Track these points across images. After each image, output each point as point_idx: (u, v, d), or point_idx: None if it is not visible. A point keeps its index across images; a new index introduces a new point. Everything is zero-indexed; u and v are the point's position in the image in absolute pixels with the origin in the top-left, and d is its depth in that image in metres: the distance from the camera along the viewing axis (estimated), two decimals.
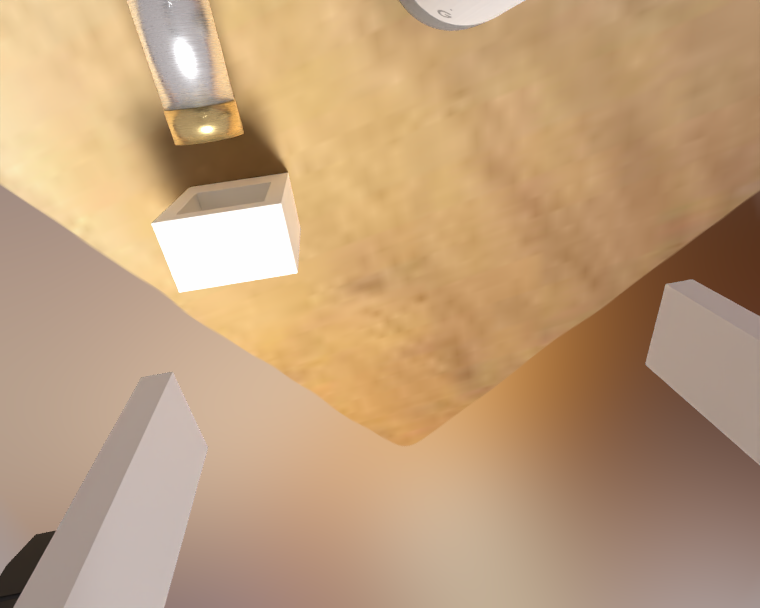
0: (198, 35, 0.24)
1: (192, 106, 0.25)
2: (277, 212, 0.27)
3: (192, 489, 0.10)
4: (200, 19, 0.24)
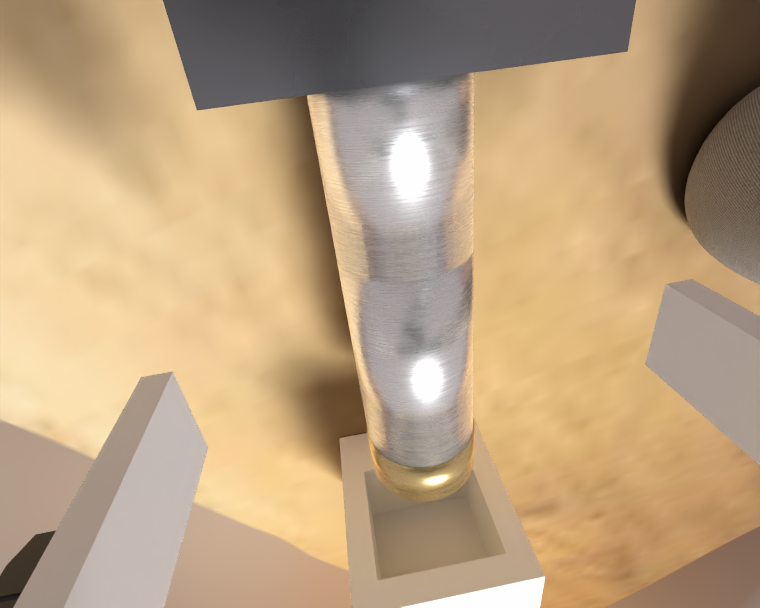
0: (464, 377, 0.14)
1: (434, 464, 0.16)
2: (535, 584, 0.18)
3: (192, 489, 0.10)
4: (469, 353, 0.14)
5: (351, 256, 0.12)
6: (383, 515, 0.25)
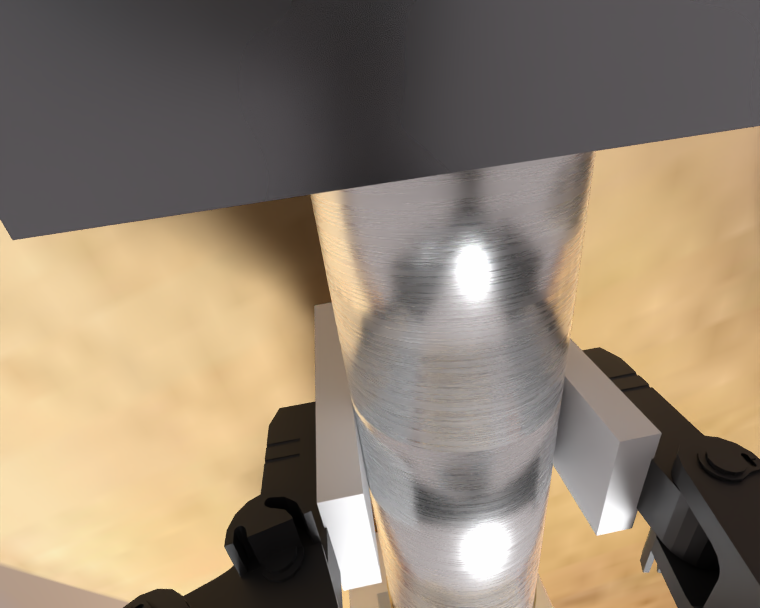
0: (537, 548, 0.10)
1: None
2: None
3: None
4: (545, 514, 0.10)
5: (375, 404, 0.07)
6: None
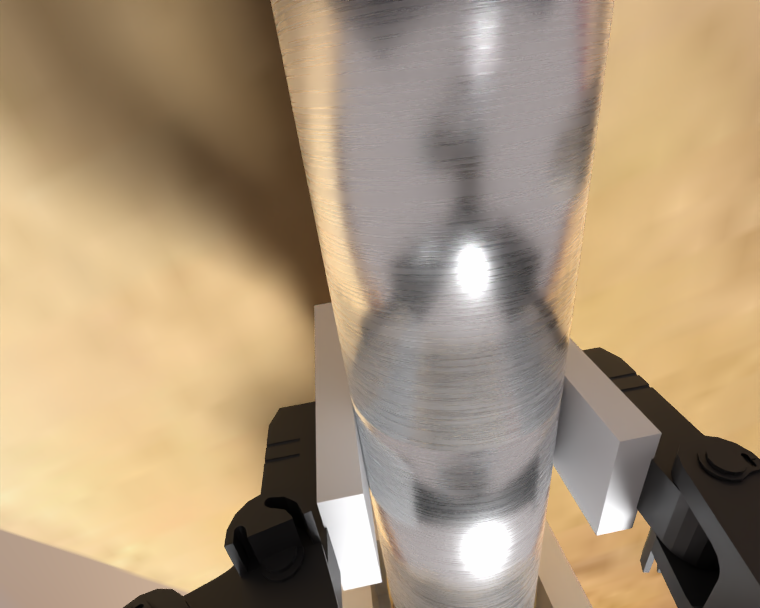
0: (537, 548, 0.10)
1: None
2: None
3: None
4: (545, 513, 0.10)
5: (375, 403, 0.07)
6: None
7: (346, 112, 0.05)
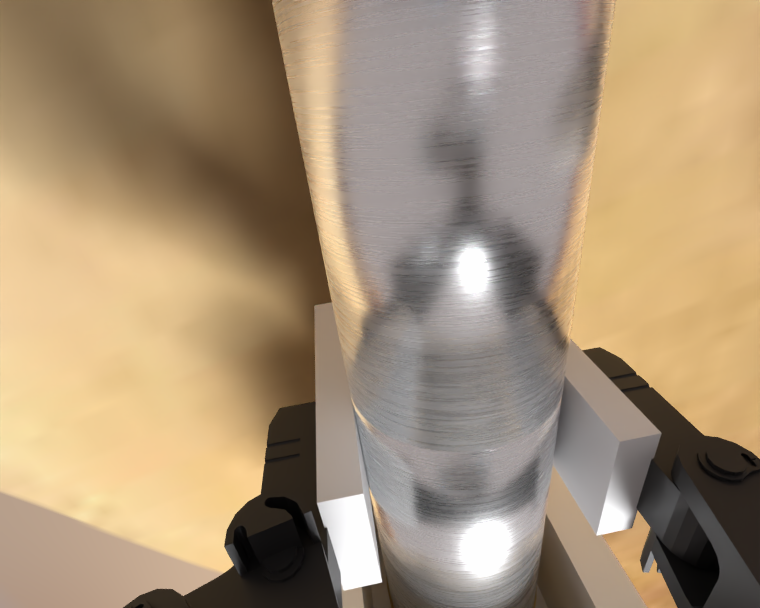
0: (537, 548, 0.10)
1: None
2: None
3: None
4: (545, 513, 0.10)
5: (375, 404, 0.07)
6: None
7: (347, 113, 0.05)
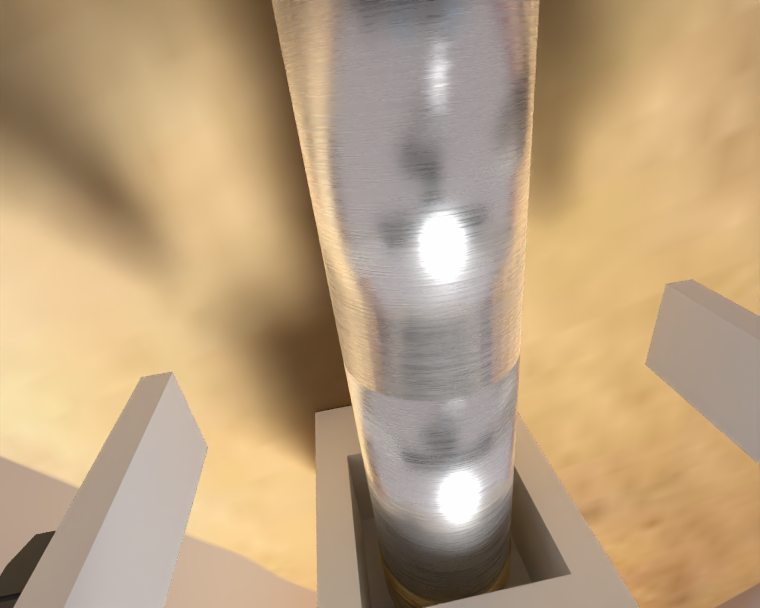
0: (505, 498, 0.11)
1: None
2: None
3: (192, 489, 0.10)
4: (512, 467, 0.11)
5: (363, 364, 0.09)
6: None
7: (336, 130, 0.06)
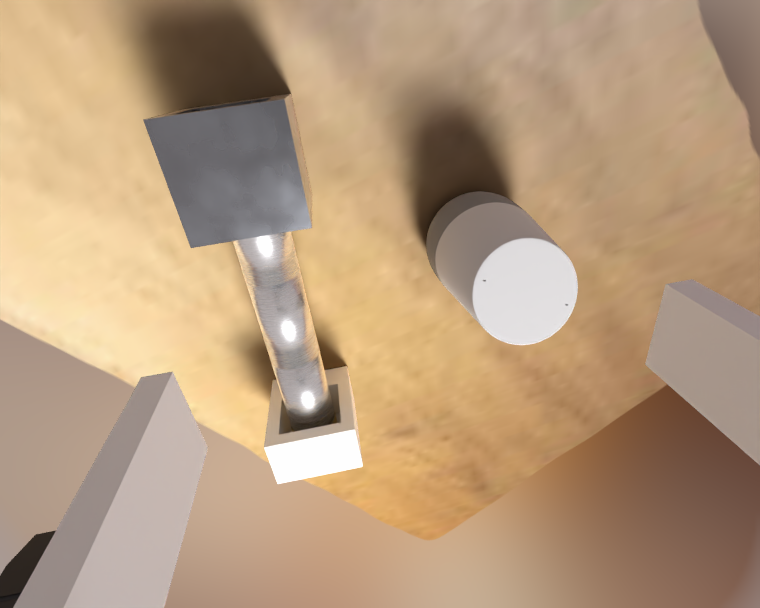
0: (320, 399, 0.39)
1: None
2: (351, 434, 0.38)
3: (192, 489, 0.10)
4: (322, 390, 0.38)
5: (272, 360, 0.36)
6: None
7: (260, 315, 0.34)
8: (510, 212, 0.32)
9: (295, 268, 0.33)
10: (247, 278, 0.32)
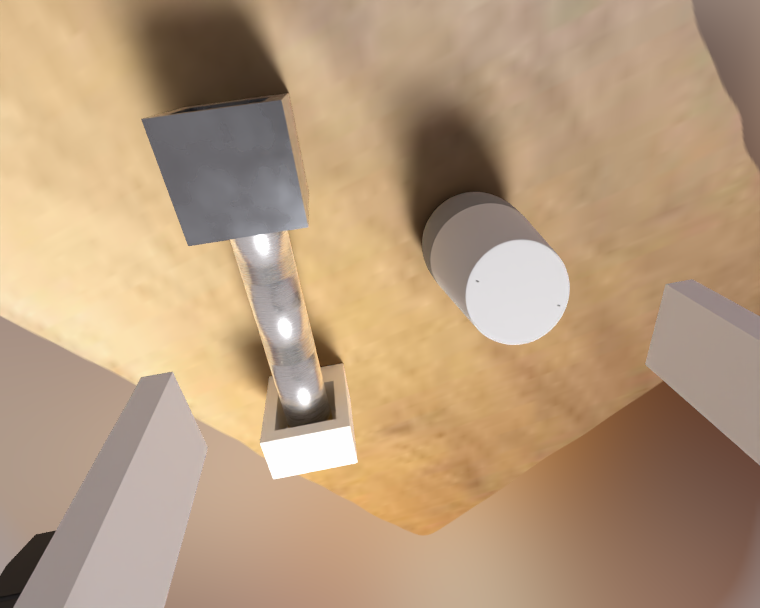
0: (316, 396, 0.39)
1: None
2: (346, 431, 0.38)
3: (192, 489, 0.10)
4: (317, 387, 0.39)
5: (269, 357, 0.37)
6: None
7: (257, 313, 0.34)
8: (504, 213, 0.32)
9: (291, 266, 0.33)
10: (244, 276, 0.32)
